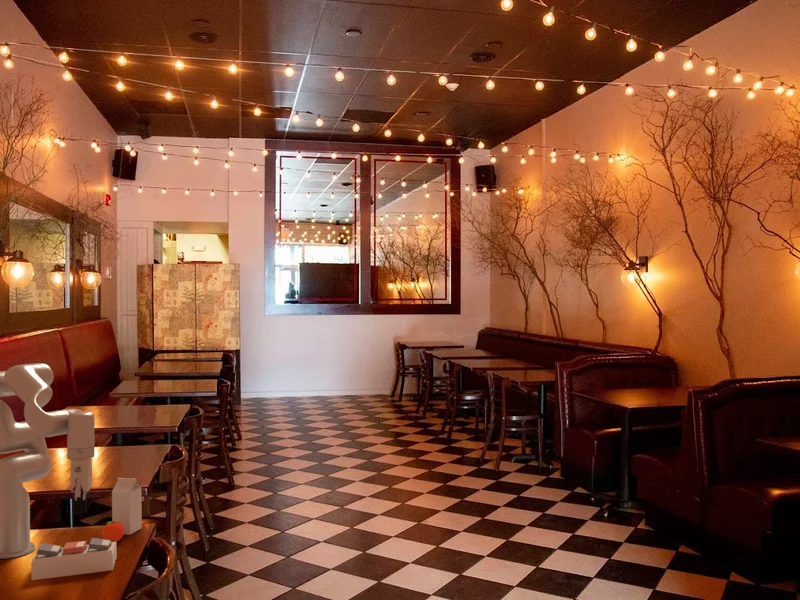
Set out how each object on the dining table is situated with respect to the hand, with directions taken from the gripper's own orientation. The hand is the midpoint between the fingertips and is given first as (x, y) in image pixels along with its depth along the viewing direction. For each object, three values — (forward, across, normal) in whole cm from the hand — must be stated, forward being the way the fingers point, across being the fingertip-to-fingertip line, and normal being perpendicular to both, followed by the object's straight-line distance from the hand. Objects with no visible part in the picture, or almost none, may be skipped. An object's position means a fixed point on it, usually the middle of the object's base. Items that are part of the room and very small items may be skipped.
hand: (80, 512), depth 202 cm
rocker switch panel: (+17, +1, +1) cm, 17 cm away
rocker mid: (+10, 0, +2) cm, 10 cm away
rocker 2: (+10, 0, -6) cm, 12 cm away
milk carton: (+18, +32, -11) cm, 39 cm away
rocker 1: (+10, 0, +8) cm, 13 cm away
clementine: (+18, +22, -7) cm, 29 cm away
